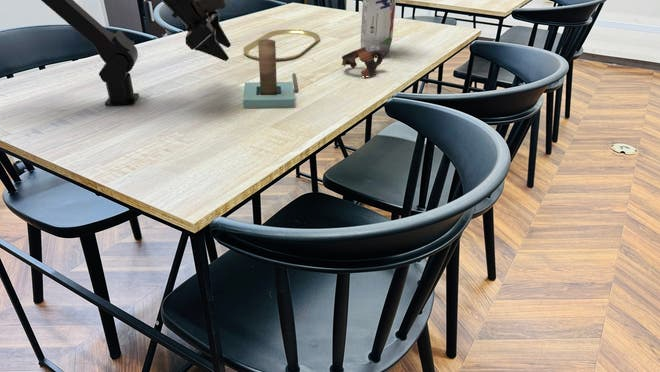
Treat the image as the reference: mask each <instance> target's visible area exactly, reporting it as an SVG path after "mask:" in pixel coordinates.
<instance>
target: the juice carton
mask: <svg viewBox="0 0 660 372" xmlns="http://www.w3.org/2000/svg"><path fill="white" fill-rule="evenodd" d="M396 2H397V0H362V10H361V11H362V12H361V27H360V28H361V29H360V48H363V47H365V48H366V51H368V52H372V51H375V50H379V51H381V52H382V54H383V58H385V57H386V54H387V53H388V52H389V51H390V49H391V45H392V43H393V42H392V41H393V35H394V34H393V33H394V26H395V25H394V24H395V13H396V5H397V4H396ZM375 56H377V55H375Z"/></svg>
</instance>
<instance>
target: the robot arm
mask: <svg viewBox="0 0 660 372" xmlns="http://www.w3.org/2000/svg"><path fill="white" fill-rule="evenodd" d="M40 1H41V2H42V3H43V4H45V5H46V6H47V7H48V8H50V10H52V11H53V13H55V14H56V15H58V16H59V17H60V18H61V19H63V21H65V22H66V23H67V24H68V25H69V26H70V27H71V28H72V29H74V30H75V31H76V32H77V33H79V34H80V35H81V36H82V37H83V38H85V39H86V40H87V41H88V42H89V43H91V45H92V46H93V47H94V48H95V49H94V50H96V52H97V54H98V55H99V57H100V59H101V60H102V61H103V62H104V65H103V66H102V67H101V70H100V71H99V73H98V76H99V77H100V80H101V81H102V82H104V83H105V87H106V91H107V95H108V98H107V99H106V101H105V102H104V106H132V105H133V106H134V105H135V102H136V101H137V99H138V97H140V95H139V93H137V92H135V93H134V86H133V82H132V76H131V72H130V71H132V69H133V68H134V66H135V64H136V62H137V60H138V58H139V54H138V49H137V47H136V46H135V41H133V40H131V39H130V38H128V37H127V36H126V35H125V33H124V32H123V31H122V30H121V29H119V30H117V32H116V33H114V32H112V31H111V30H108V29H106V28H105V27H104V26H103V25H102V24H101V23H99V22H98V21H97V20H96V19H95V18H94V17H93V16H92V15H90V14H89V13H88V12H87V11H86V10H85V9H84V8H83V7H81V6H80V4H78V3H77V2H76V1H75V0H40ZM160 1H161V2H162V3H163V4H164V5H165V6H166V8H168V9H169V10H170V11H171V16H172V17H173V18H174V19H179V20H180V21H181V22H182V23H183V25H184V26H185V31H186V32H187V33H186V35H185V45H187V47H189V49H190V50H191V51H193V50H195V51H199V52H201V53H204V54H207V55H209V56H212V57H215V58H217V59H218V60H219V59H220V60H222V61H225V62H227V61H228V60H229V59H230V57H229V55H228V54H227V52H226V51H225V49H224V48H223V47H222V46H224V47H225V48H230V47H231V46H232V44H231V42H230V40H229V39H228V37H227V35H226V33H225V31H224V30H223V28H222V27H221V24H220V13H219V10H222V9H225V8H226V7H227V6H228V5H227V3H228V1H227V0H160Z"/></svg>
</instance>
